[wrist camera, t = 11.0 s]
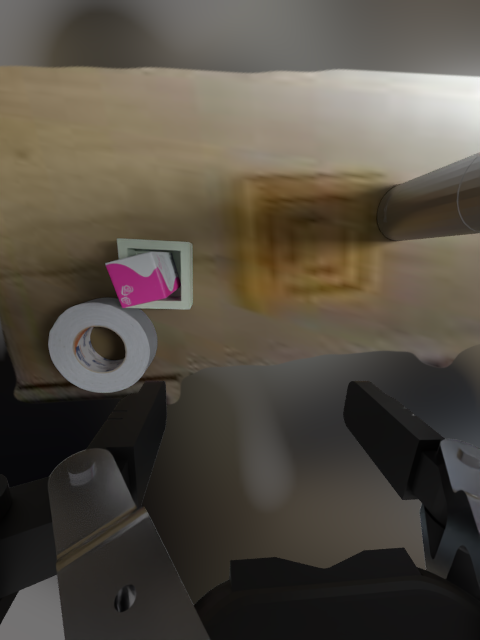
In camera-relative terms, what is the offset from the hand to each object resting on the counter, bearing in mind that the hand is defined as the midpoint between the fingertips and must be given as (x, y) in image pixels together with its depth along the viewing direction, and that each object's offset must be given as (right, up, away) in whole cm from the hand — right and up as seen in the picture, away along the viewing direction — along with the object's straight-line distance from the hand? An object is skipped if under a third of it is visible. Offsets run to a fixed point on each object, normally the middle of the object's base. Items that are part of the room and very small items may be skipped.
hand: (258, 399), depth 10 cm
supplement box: (-14, +11, +29) cm, 34 cm away
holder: (-14, +11, +30) cm, 34 cm away
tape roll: (-23, 0, +32) cm, 40 cm away
